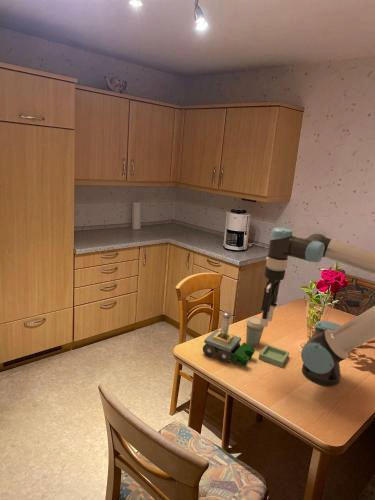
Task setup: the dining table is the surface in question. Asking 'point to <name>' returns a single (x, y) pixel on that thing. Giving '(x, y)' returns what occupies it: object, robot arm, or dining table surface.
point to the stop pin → (225, 324)
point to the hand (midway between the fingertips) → (266, 322)
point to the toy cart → (221, 346)
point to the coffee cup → (254, 331)
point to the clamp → (243, 354)
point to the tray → (274, 355)
